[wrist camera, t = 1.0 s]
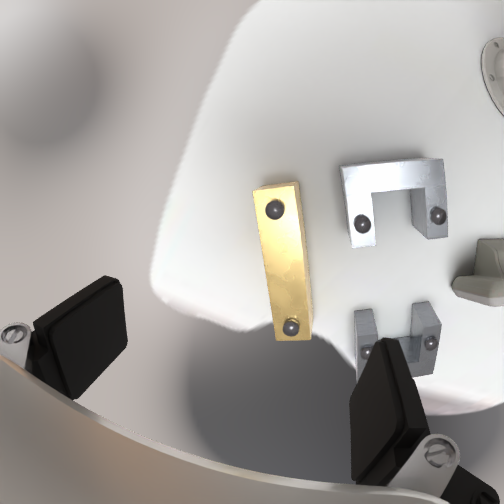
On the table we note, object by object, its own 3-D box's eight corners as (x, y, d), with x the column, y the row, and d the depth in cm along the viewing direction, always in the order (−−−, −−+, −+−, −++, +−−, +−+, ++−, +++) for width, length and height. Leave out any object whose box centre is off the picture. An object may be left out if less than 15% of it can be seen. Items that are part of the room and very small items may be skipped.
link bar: (298, 181, 31) (292, 186, 26) (313, 317, 36) (310, 343, 31) (263, 185, 32) (250, 192, 27) (282, 318, 37) (274, 344, 32)
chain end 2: (355, 357, 36) (357, 387, 31) (354, 310, 34) (357, 339, 29) (423, 348, 33) (433, 377, 28) (428, 301, 31) (443, 327, 26)
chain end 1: (424, 157, 26) (445, 159, 21) (430, 223, 29) (450, 238, 23) (339, 165, 29) (342, 168, 24) (348, 232, 31) (352, 250, 26)
